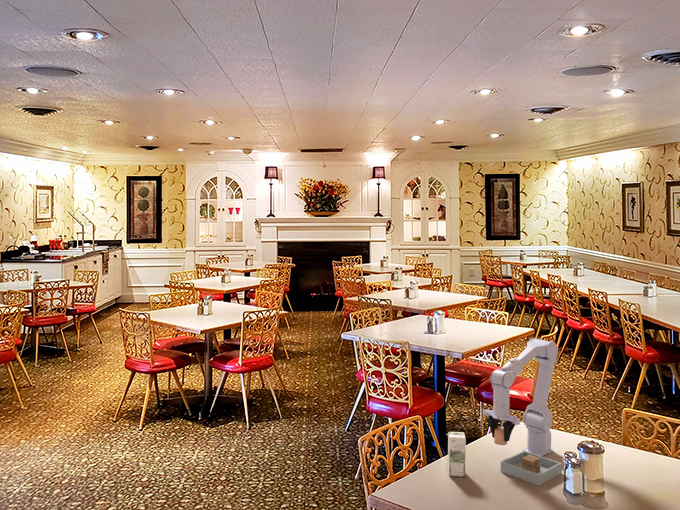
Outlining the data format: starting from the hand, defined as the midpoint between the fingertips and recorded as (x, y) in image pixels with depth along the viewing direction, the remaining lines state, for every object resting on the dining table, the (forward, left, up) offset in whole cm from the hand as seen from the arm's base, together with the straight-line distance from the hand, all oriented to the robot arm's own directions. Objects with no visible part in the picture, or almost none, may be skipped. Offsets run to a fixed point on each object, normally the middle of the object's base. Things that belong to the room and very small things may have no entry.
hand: (500, 438), depth 222 cm
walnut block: (-2, +11, -9) cm, 15 cm away
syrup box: (+18, -6, -10) cm, 22 cm away
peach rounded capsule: (0, 0, -1) cm, 1 cm away
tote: (-3, +11, -10) cm, 15 cm away
